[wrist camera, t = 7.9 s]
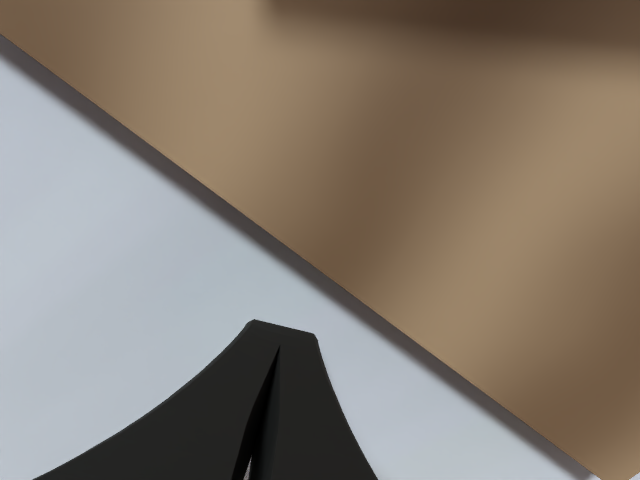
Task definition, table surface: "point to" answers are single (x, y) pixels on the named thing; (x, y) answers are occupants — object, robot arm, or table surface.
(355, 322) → the table surface
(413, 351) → the table surface
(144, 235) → the table surface
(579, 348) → the stool board
